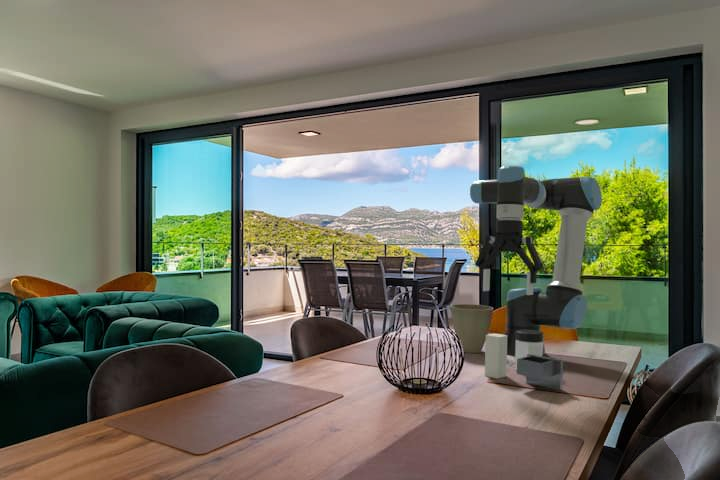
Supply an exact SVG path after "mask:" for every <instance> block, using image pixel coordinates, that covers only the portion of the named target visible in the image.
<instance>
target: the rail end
mask: <svg viewBox="0 0 720 480" xmlns="http://www.w3.org/2000/svg"><path fill="white" fill-rule="evenodd" d="M484 345H485V349H484V350H485V351H484V354H485V355H484V376H485V377H490V378H494V379H499V380H500V379H501V378H505V377H507V372H508V371H507V370H508V369H507V368H508V366H507V365H508V354H507V335H504V334H499V333H488V334H487V335H486V340H485V344H484Z"/></svg>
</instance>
